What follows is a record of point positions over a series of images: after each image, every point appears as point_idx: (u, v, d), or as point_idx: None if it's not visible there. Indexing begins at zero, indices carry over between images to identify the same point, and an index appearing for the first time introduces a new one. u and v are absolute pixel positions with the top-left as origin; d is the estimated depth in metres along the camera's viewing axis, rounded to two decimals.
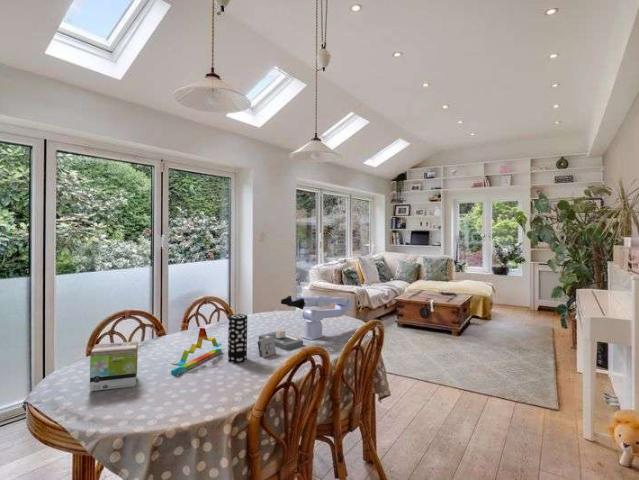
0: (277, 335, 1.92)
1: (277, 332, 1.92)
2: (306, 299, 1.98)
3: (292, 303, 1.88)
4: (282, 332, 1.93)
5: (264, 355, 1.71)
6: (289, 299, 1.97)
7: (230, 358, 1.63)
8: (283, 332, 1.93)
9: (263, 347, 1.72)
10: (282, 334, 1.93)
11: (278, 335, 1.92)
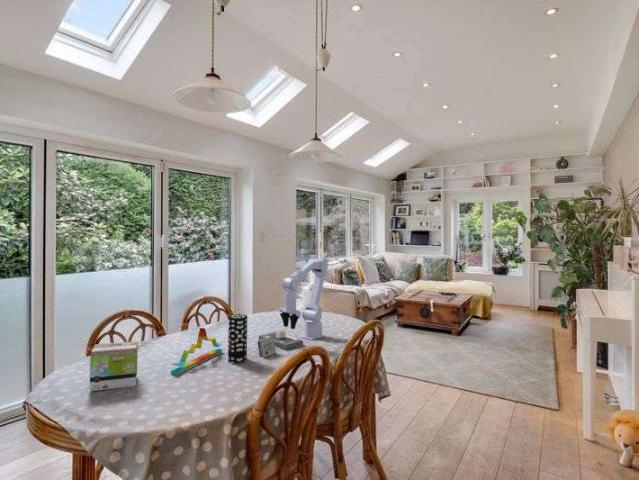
0: (277, 335, 1.92)
1: (277, 332, 1.92)
2: (290, 304, 1.86)
3: (293, 327, 1.86)
4: (282, 332, 1.93)
5: (264, 355, 1.71)
6: (284, 316, 1.90)
7: (230, 358, 1.63)
8: (283, 332, 1.93)
9: (263, 347, 1.72)
10: (282, 334, 1.93)
11: (278, 335, 1.92)
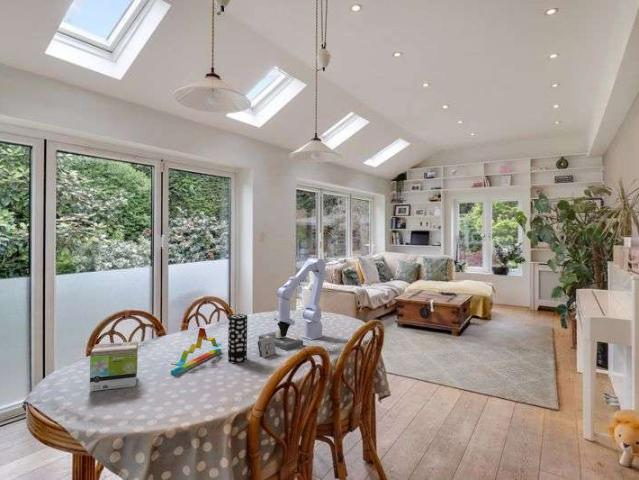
0: (277, 335, 1.93)
1: (277, 332, 1.93)
2: (284, 314, 1.89)
3: (284, 335, 1.91)
4: None
5: (264, 355, 1.71)
6: None
7: (230, 358, 1.63)
8: None
9: (263, 347, 1.72)
10: None
11: (278, 335, 1.92)
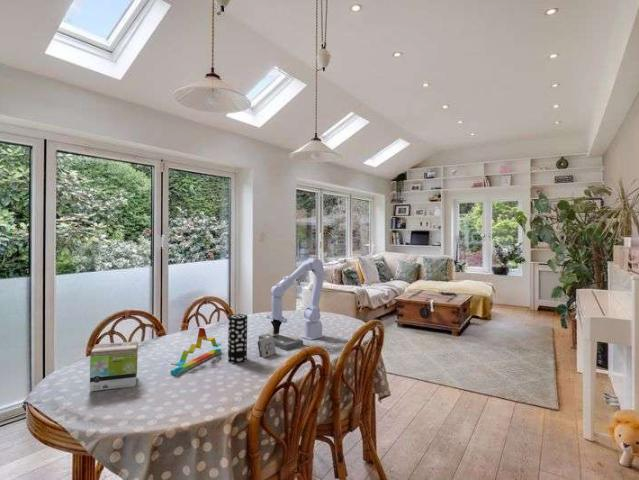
0: (271, 333, 1.96)
1: (271, 330, 1.96)
2: (277, 312, 1.93)
3: None
4: None
5: (264, 355, 1.71)
6: None
7: (230, 358, 1.63)
8: None
9: (263, 347, 1.71)
10: None
11: (272, 333, 1.96)
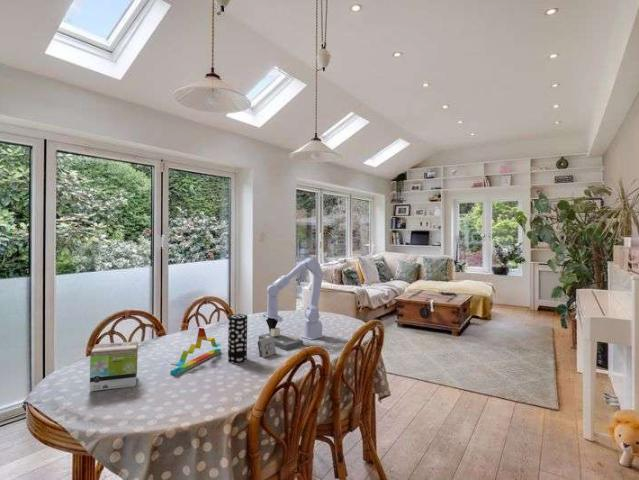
0: (272, 333, 1.95)
1: (272, 330, 1.95)
2: (272, 310, 1.96)
3: None
4: (277, 330, 1.96)
5: (264, 355, 1.71)
6: None
7: (230, 358, 1.63)
8: (278, 330, 1.96)
9: (263, 347, 1.71)
10: (276, 332, 1.96)
11: (273, 333, 1.95)
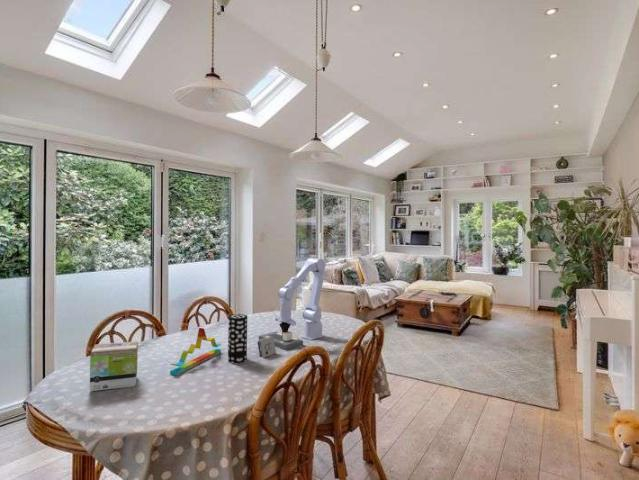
0: (284, 337, 1.88)
1: (284, 334, 1.88)
2: (285, 314, 1.88)
3: None
4: (289, 334, 1.89)
5: (264, 355, 1.71)
6: None
7: (230, 358, 1.63)
8: (290, 334, 1.89)
9: (263, 347, 1.72)
10: (289, 336, 1.89)
11: (285, 337, 1.88)
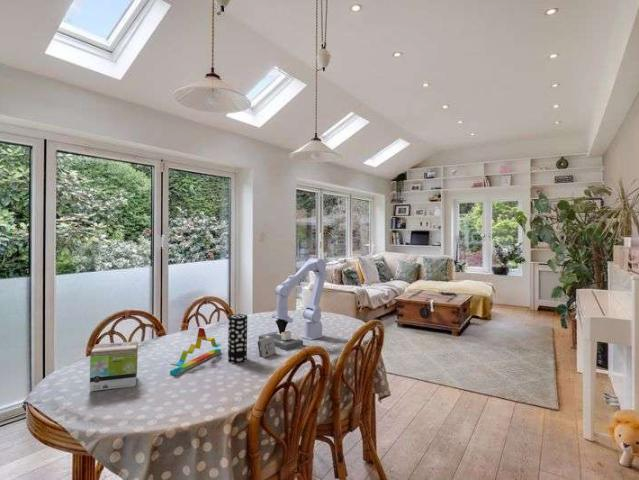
0: (283, 337, 1.89)
1: (283, 334, 1.89)
2: (282, 311, 1.90)
3: None
4: (288, 334, 1.90)
5: (264, 355, 1.71)
6: None
7: (230, 358, 1.63)
8: (289, 334, 1.90)
9: (263, 347, 1.72)
10: (287, 336, 1.89)
11: (284, 337, 1.89)
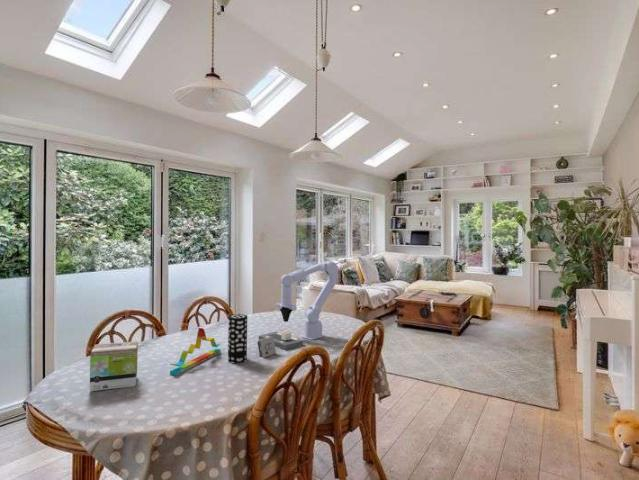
0: (283, 337, 1.89)
1: (283, 334, 1.89)
2: (286, 299, 1.98)
3: (286, 320, 2.01)
4: (288, 334, 1.90)
5: (264, 355, 1.71)
6: None
7: (230, 358, 1.63)
8: (289, 334, 1.90)
9: (263, 347, 1.71)
10: (287, 336, 1.89)
11: (284, 337, 1.89)
